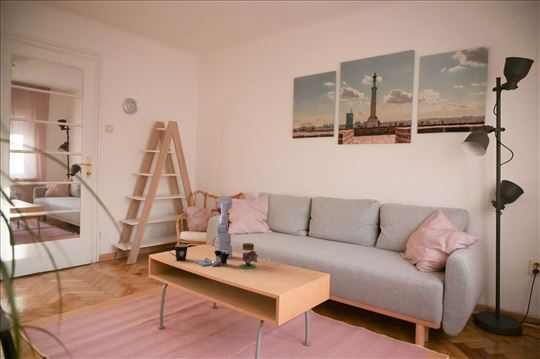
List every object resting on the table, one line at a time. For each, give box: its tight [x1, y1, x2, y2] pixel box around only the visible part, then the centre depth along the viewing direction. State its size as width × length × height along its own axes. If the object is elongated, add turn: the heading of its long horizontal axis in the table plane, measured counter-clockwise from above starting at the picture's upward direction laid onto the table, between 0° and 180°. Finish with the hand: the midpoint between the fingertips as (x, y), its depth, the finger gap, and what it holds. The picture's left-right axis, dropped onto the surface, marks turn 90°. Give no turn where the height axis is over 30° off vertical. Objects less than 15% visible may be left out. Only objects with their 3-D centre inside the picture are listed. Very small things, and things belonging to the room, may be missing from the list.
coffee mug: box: [169, 243, 189, 262], centre depth 250 cm, size 12×9×10 cm
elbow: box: [210, 255, 228, 267], centre depth 239 cm, size 10×5×6 cm, turn 129°
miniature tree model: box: [239, 242, 259, 270], centre depth 238 cm, size 12×13×15 cm
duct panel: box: [193, 256, 214, 267], centre depth 243 cm, size 11×12×4 cm
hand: (221, 262), depth 241 cm, fingers open, 6 cm apart
